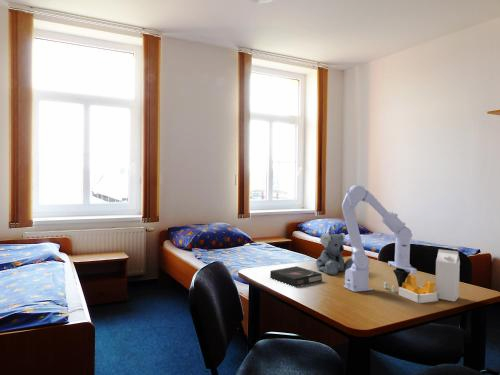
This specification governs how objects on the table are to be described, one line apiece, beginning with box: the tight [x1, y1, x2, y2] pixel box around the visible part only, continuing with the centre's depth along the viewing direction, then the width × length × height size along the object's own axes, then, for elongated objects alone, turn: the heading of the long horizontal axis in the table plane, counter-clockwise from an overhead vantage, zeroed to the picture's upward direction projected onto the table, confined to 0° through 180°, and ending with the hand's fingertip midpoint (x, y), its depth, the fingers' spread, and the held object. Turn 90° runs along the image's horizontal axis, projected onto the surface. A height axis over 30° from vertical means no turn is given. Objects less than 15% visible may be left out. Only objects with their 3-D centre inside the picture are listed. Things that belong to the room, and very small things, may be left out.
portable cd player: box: [269, 266, 323, 288], centre depth 174 cm, size 16×17×4 cm
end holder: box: [398, 285, 439, 304], centre depth 151 cm, size 10×11×3 cm
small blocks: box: [383, 281, 388, 289], centre depth 164 cm, size 9×1×2 cm, turn 110°
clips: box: [391, 285, 396, 293], centre depth 160 cm, size 9×1×2 cm, turn 110°
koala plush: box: [315, 232, 354, 276], centre depth 193 cm, size 17×18×20 cm
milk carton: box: [434, 248, 461, 302], centre depth 151 cm, size 7×7×19 cm
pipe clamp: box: [401, 274, 435, 295], centre depth 154 cm, size 12×4×6 cm, turn 20°
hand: (401, 286), depth 159 cm, fingers closed
